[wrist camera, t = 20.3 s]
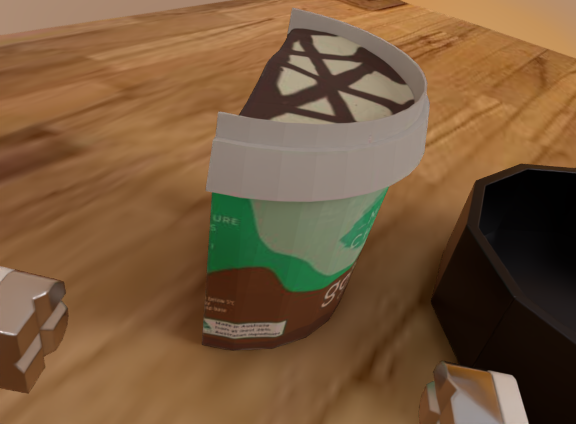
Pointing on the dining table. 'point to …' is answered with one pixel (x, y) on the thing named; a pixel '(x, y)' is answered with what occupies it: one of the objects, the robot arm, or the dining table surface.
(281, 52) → the food container
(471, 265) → the pan
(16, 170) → the dining table surface
